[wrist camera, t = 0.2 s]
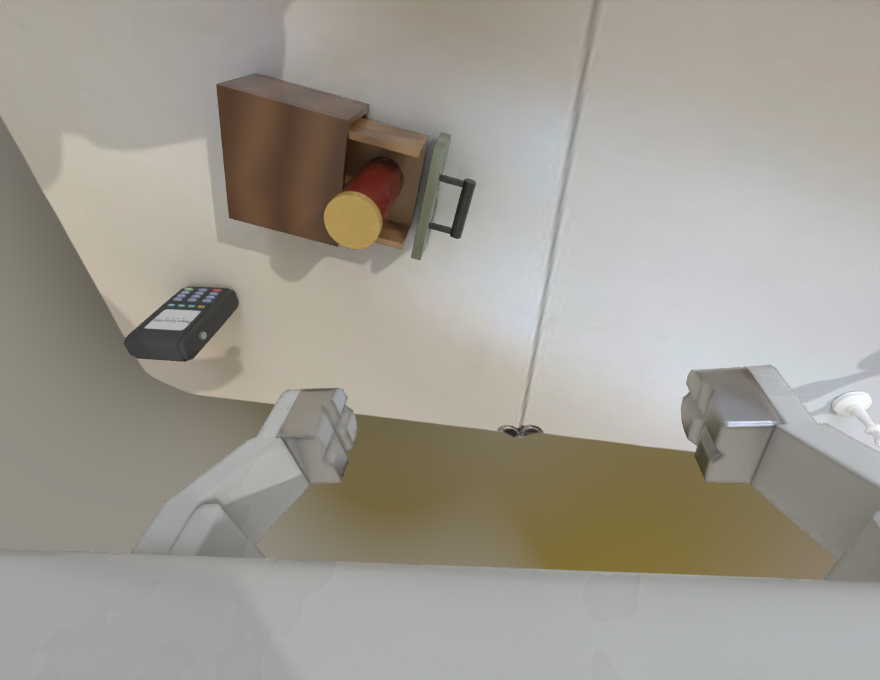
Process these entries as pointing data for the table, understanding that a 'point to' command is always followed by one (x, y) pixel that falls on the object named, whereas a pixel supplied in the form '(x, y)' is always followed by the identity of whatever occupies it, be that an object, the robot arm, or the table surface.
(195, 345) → the card reader
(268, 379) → the table surface
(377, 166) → the tea tin
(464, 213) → the drawer
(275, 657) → the robot arm
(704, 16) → the table surface
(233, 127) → the cabinet
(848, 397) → the chess piece
